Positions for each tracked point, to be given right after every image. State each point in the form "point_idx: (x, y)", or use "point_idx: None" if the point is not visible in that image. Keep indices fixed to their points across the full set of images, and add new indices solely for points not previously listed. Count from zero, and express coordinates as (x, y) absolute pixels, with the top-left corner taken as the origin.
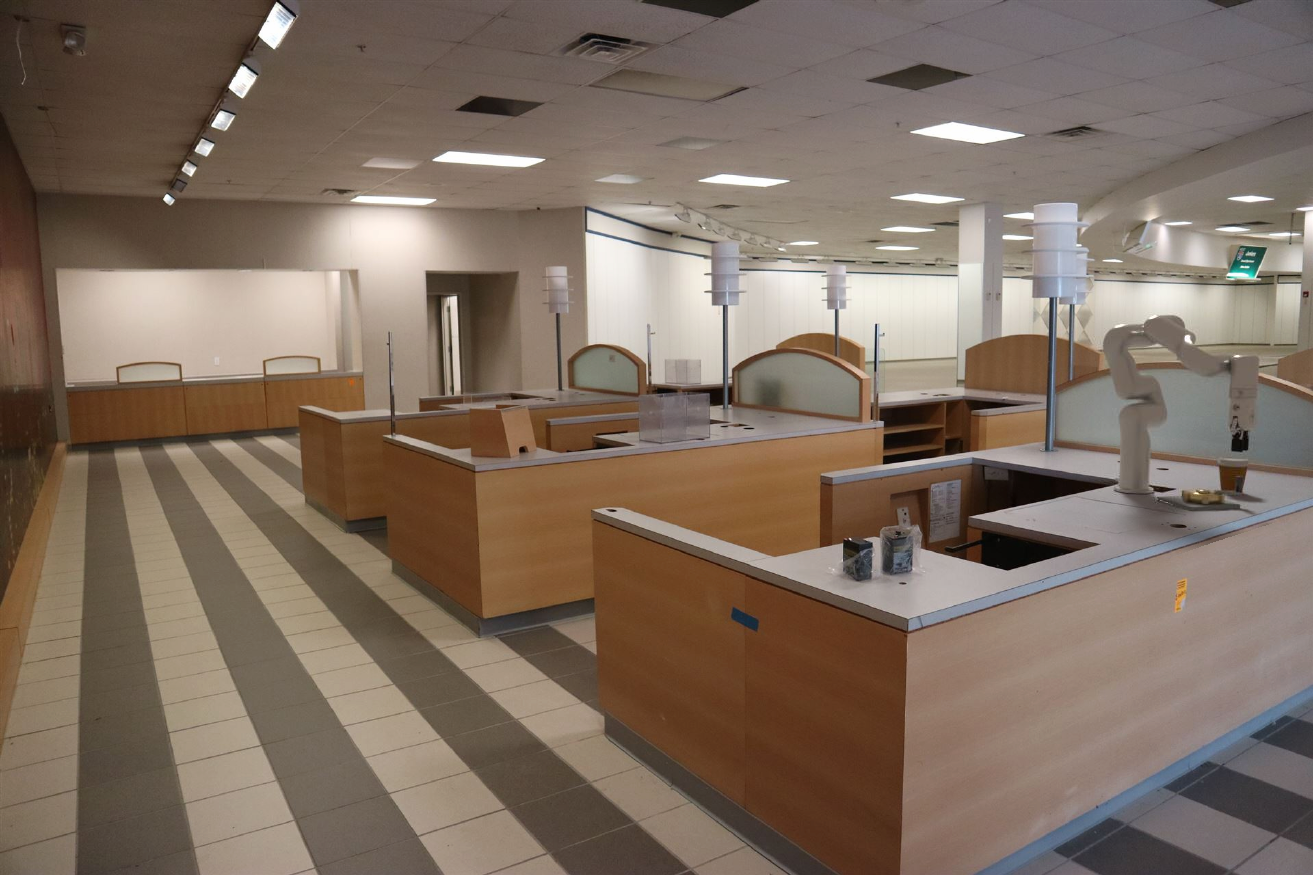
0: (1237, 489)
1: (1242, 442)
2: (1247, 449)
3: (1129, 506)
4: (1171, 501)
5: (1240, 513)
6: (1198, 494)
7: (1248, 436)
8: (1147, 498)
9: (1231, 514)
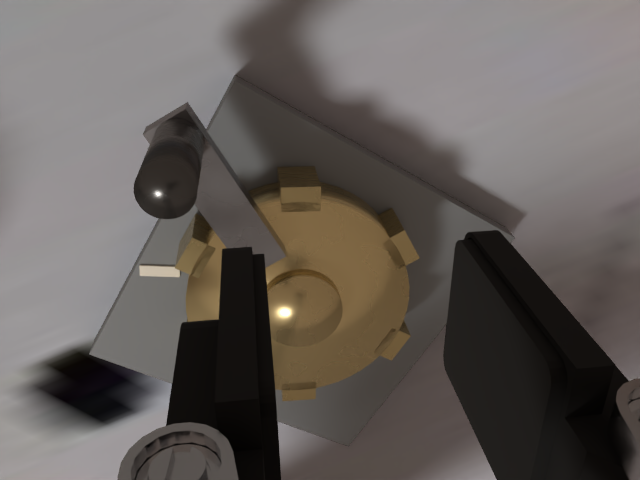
0: (203, 149)
1: (581, 331)
2: (250, 254)
3: None
4: (413, 362)
5: (405, 4)
6: (377, 296)
7: (174, 464)
8: (329, 471)
9: (474, 32)
